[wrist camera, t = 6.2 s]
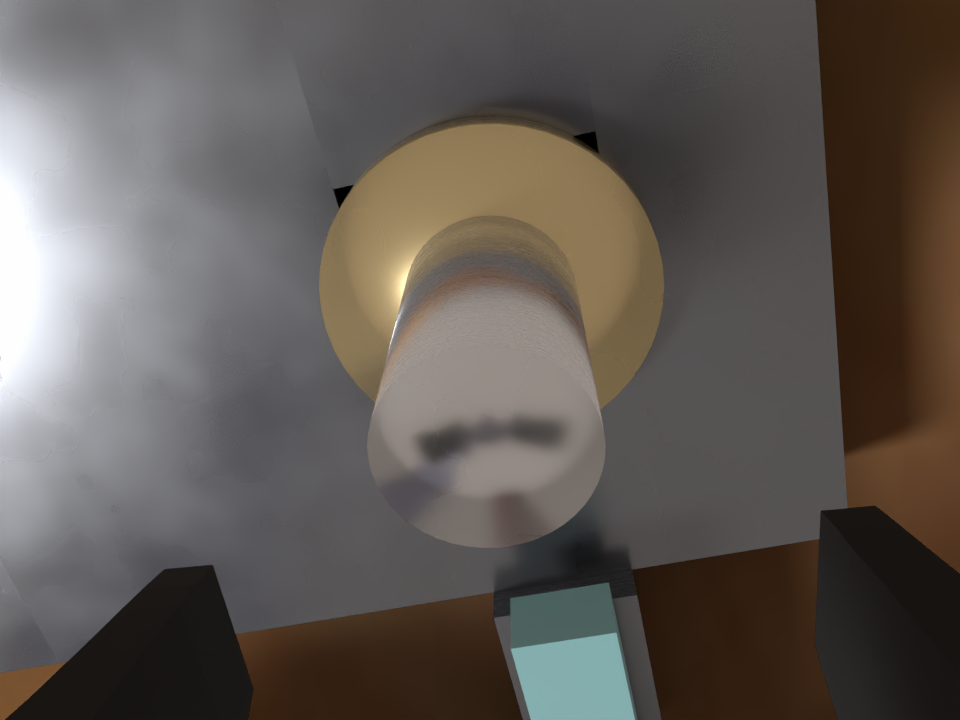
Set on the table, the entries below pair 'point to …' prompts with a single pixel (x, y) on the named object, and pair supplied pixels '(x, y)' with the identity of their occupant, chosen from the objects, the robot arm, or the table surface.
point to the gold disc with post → (490, 321)
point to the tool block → (297, 309)
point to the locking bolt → (571, 655)
